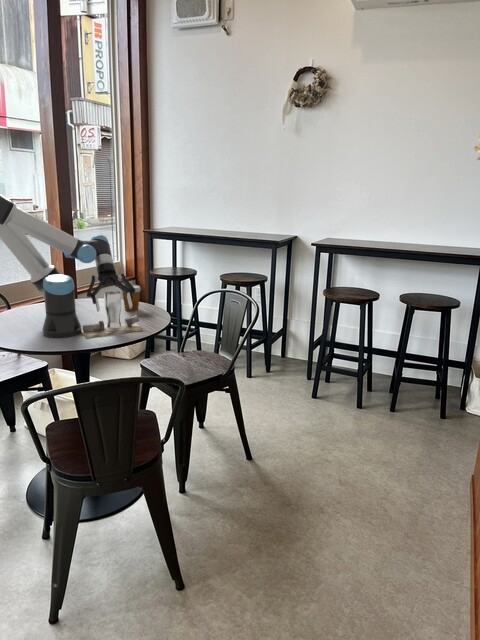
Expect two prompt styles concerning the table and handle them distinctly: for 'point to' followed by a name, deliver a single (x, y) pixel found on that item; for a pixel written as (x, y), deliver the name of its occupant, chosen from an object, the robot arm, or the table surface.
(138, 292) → the disposable coffee cup
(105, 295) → the beer glass
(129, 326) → the shaft cradle
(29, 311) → the table surface
